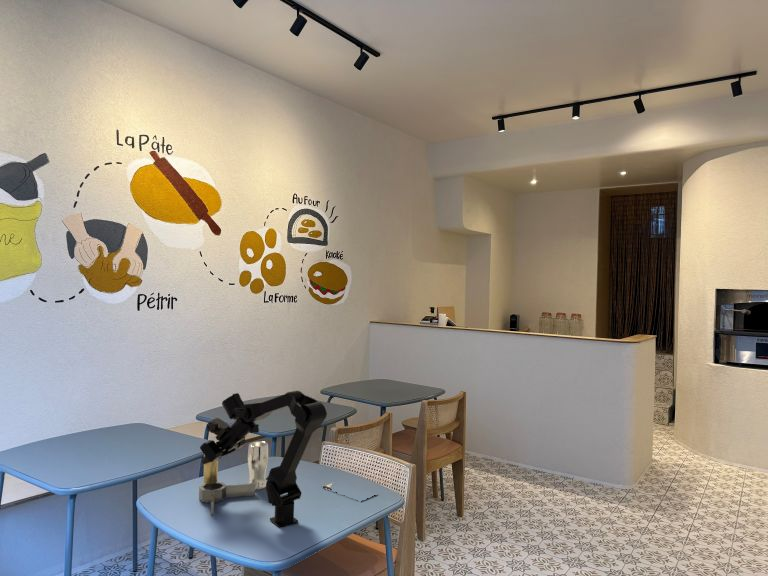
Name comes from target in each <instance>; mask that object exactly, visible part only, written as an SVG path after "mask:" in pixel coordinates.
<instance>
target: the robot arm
mask: <svg viewBox="0 0 768 576" xmlns="http://www.w3.org/2000/svg"><path fill="white" fill-rule="evenodd" d="M221 405H222V407H223V408H224V411H225V413H226V415H228V418H229V420H234V422H233V423H232V424H231V425H229V424H228V422H226V421H224V420H222V419H221V418H219V417H216V418H213V419H210V421H209V422H208V423H206V430H207V432H209V433H211V434H214V435H215V439H216V440H217V441H214V440H213V439H210V440H207V441H205V442H203V443H202V444H201V445H200V447H199V448H200V451H201V452H202V453H203V455H204V454H205V457H204V456H203V459H202V461H201V463H202V464H203V465H204V464H207V463H209V462H213V461H215V460H218V461H219V459H222V457H224V456H227V455H229V454H231V453H233V452H235V451H236V449H237V450H238V449H241V448H242V447H244V446H245V445H246V436H247V435H248V434H249V433H250V434H258V433H259V432H260V429H259V426H260V424H259V423H256V422H257V421H262V420H264V419H266V418H268V417H269V416H270V415H271V414H273V412H276V411H279V410H282V409H285V408H289V411H290V415H292V416H293V417H294V423H295V427H296V428H295V430H294V433H293V435H292V437H291V440H290V442H289V444H288V446H287V449H286V452H285V454H284V455H283V458H282V461H281V463H280V465H278V466H275V467H272V468H271V469H270V470H269V473H268V475H267V477H265V482H266V487H265V488H266V489H265V490H266V493H267V494H266V495H267V498H268V503H269V504H271V506H272V507H274V516H273V517H270V518H269V520H270V522H272V523H273V524H274V525H275V526H277V527H278V528H282V527H287V526H291V525H293V524H297V523H299V520H298V519H297V518H295V515H294V514H295V501H296V500H300V499H301V498H302V497H301V496H302V491H301V489H300V487H299V485H298V483H297V478H298V477H297V473H296V471H297V469H298V466H299V464H300V461H301V460H302V457H303V455H304V453H305V450H306V448H307V446H308V444H309V441H310V440H311V437H312V434H313V433H315V431H316V430H317V429H319V428H320V427H321V425H322V424H323V423H324V421H325V420H326V418H327V415H328V413H327V412H328V411H327V410H326V407H325V405H324V404H323V403H322V402H319V401H318V400H316V398H312V397H311V396H308V395H306V394H305V393H303V392H302V391H300V390H293V391H287V392H286V393H284V394H282V395H279V396H275V397H273V398H270V399H268V400H263V401H262V400H261V401H256V402H251V403H244V401H243V399H242V398H241V396H240V394H239V392H238V393H237V392H236V393H232V395H231V396H228V397H227V398H226V399H223V400H222V402H221ZM215 442H216V443H215Z"/></svg>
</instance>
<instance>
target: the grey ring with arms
mask: <svg viewBox="0 0 768 576" xmlns="http://www.w3.org/2000/svg"><path fill="white" fill-rule="evenodd" d="M198 489H199V490H198V500H199V499H200V500H201V501H200V500H199V501H200V502H201V503H202V502H205V503H204V504H210V516H214V511H215V510H214V508H215V504H216V503H215V502H217V503H221V502H223V501H224V500H225V499H229V498H228V497H230V498H239V497H240V498H241V497H252V496H256V490H255V483H249V482H248V483H247V482H246V483H235V484H233V483H232V484H225V482H221V481H217V482H216V483H214V484H205V483H202V485H200V486H199V487H198ZM220 501H221V502H220Z"/></svg>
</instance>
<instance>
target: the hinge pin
mask: <svg viewBox="0 0 768 576" xmlns="http://www.w3.org/2000/svg"><path fill="white" fill-rule="evenodd" d="M214 442H215V443H216V442H217V441H214ZM204 457H205V454H204V453H203V458H204ZM218 472H219V459H218V460H215V461H213V462H209V463H207V464H203V478H202V479H203V480H202V482H203V483H202V484H204V483H205V484H214V483H216V482H218V480H219V479H218V474H219V473H218Z"/></svg>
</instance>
